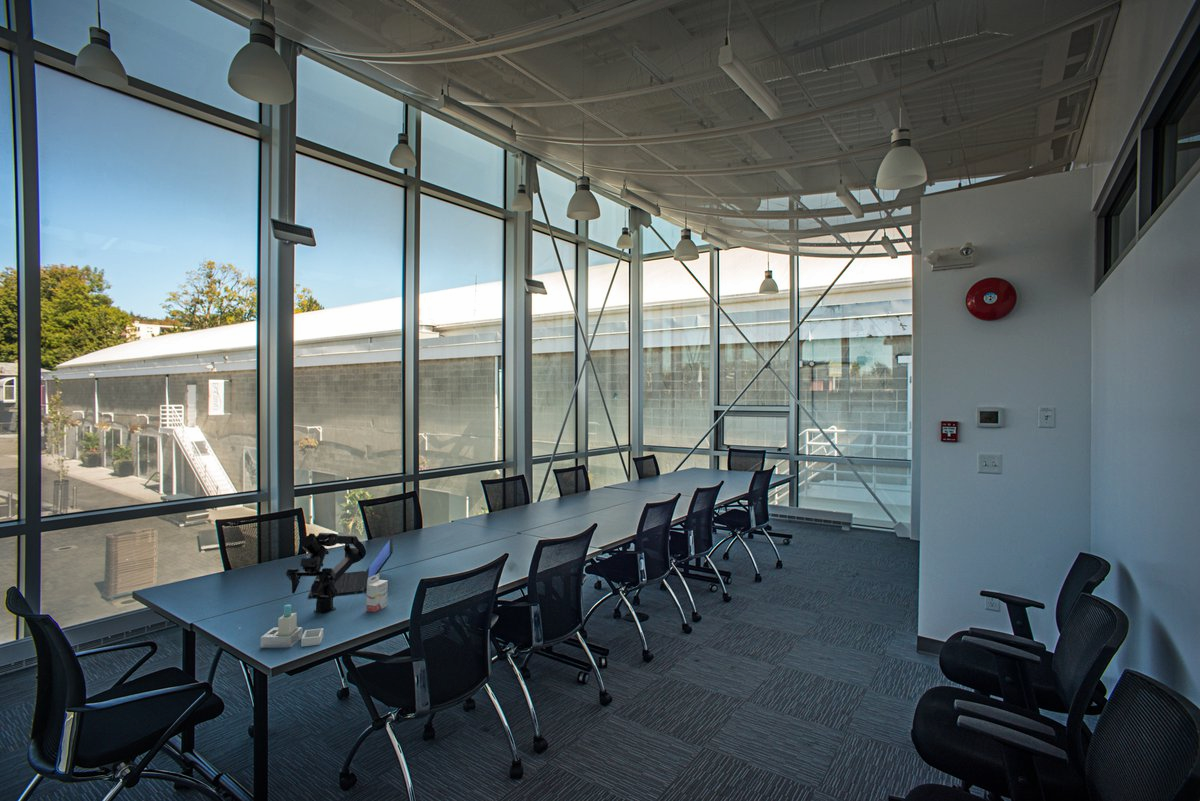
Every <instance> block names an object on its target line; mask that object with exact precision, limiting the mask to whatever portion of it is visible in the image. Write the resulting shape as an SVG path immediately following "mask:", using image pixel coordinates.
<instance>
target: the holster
mask: <svg viewBox="0 0 1200 801" xmlns="http://www.w3.org/2000/svg"><path fill="white" fill-rule="evenodd" d="M323 637H324V628H323V627H322V628H313V629H305V630H304V632H303V636H302V638H301V639H300V640H301V645H300V646H301V647H310V646H317V645H321V643H322V641H323V640H322V639H323Z"/></svg>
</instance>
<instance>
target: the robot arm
mask: <svg viewBox="0 0 1200 801" xmlns="http://www.w3.org/2000/svg"><path fill="white" fill-rule="evenodd" d="M358 538H359V537H358V536H356V535H338V534H336V533H333V532H319V533H318V535H316V534H315V533H312V532H311V533H309V534H308V535H306V536H304V537H303V538H302V539H301V540H300V547H302V549H303V550H304V551H306V552H307V553H308V554H310V555H309V557H306V558H301V561H300V564H299V567H302V568H301V569H302V570H303V571H300V569H299V568H294V567H293V568H292V567H291V568H288V569H287V570H286V572H285V576H286V577H287V578H288V580H289V581H291V593H292V595H294V594H296V592H297V588H298V587H299V584H300V583H301V582H300V579H301V577H316V576H319V577H318V578H317V579H316V580H315V579H314V581H313V583H312V584H311V586H310V591H311V592H312V595H313V598H312V599H315V598H316V602H315V609H314V610H313V613H317V614H328V613H330V612H332V611H334V610H336V607H334V598H336V597H337V596H338V595H337V590H336V589H335V582H336V581H337V580H338V579H339V578H340V577H341V576H342V575H343V574H344V573H347V572H346V571H348V570H349V569H350V567H351V566H352V565H354V564H357V563H358V562H360V561H362V560H363V559H364V558H365V556H366V555H367V550H366V548H365V544H363V543H362V542H361V541H360V540H359V539H358ZM339 544H341V545H344V547H343V550H344V558H342V559H341V560H340V561H339V562H338V563H337V564H336V565H335V567H333V568H332V567H328V568H327V567H324V560H325V557H326V555H329V554H330V552H329V550H328V548H327V547H333V546H336V545H339ZM350 545H353V546H350ZM322 567H324V568H322ZM321 568H322V569H321Z"/></svg>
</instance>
